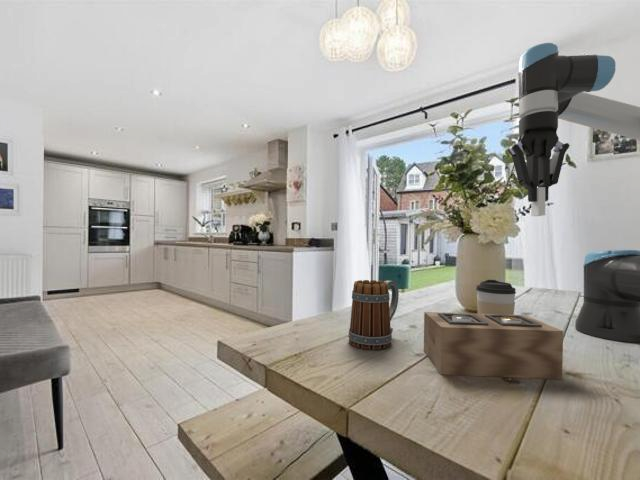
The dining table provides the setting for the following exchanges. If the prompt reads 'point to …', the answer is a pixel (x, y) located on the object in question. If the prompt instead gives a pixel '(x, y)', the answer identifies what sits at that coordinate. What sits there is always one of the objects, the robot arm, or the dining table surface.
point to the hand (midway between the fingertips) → (538, 215)
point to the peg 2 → (511, 320)
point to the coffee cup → (495, 297)
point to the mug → (372, 314)
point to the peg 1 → (461, 318)
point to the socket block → (493, 346)
